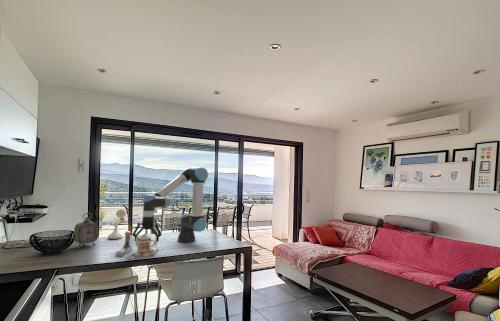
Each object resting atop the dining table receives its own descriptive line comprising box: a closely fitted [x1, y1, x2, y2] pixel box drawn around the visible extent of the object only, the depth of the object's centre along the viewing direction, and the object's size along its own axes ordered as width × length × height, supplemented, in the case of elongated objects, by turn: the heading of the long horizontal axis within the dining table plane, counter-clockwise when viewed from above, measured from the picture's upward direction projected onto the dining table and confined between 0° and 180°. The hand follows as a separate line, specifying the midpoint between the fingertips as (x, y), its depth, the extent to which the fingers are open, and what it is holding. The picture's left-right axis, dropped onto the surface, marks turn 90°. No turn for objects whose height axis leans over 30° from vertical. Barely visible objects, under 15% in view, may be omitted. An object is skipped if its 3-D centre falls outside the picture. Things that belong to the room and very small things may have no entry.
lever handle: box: [122, 230, 132, 247], centre depth 192 cm, size 4×4×11 cm
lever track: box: [115, 245, 133, 257], centre depth 187 cm, size 5×16×3 cm, turn 5°
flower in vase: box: [107, 208, 127, 240], centre depth 226 cm, size 13×11×25 cm
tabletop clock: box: [73, 212, 100, 249], centre depth 198 cm, size 14×9×25 cm, turn 147°
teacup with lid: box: [136, 233, 155, 252], centre depth 188 cm, size 12×9×12 cm
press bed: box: [131, 247, 159, 257], centre depth 188 cm, size 14×14×2 cm
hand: (146, 246), depth 188 cm, fingers open, 13 cm apart
